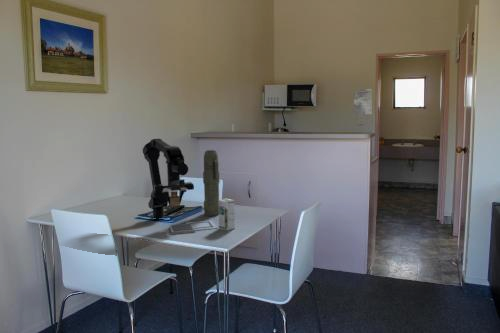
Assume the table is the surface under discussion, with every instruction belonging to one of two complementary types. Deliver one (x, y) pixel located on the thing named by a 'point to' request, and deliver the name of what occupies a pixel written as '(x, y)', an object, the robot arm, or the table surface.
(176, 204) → the stamp
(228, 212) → the syrup box
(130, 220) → the table surface
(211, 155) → the thermos
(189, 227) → the ink pad
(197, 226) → the board
